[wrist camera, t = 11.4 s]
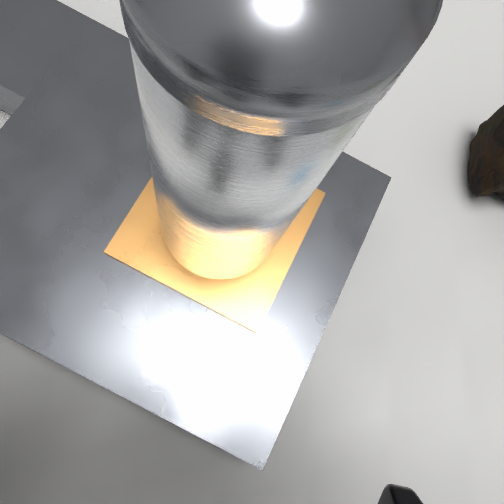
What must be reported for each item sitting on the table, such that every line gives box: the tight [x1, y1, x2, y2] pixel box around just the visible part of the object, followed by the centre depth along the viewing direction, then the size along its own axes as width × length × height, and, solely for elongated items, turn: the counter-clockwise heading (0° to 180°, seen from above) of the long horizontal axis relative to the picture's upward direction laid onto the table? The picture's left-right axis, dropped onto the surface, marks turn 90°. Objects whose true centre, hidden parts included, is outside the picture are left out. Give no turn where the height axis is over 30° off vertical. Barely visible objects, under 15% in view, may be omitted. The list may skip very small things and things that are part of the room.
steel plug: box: [120, 0, 443, 279], centre depth 13 cm, size 5×5×13 cm
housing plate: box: [0, 0, 391, 470], centre depth 20 cm, size 14×25×3 cm, turn 63°
